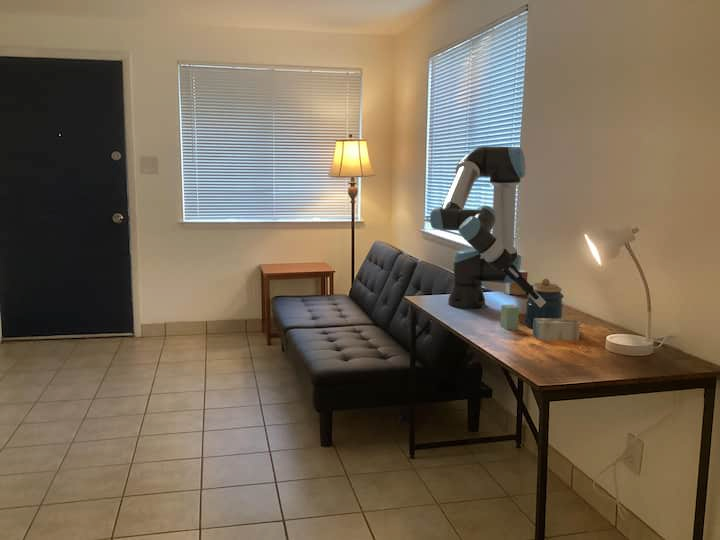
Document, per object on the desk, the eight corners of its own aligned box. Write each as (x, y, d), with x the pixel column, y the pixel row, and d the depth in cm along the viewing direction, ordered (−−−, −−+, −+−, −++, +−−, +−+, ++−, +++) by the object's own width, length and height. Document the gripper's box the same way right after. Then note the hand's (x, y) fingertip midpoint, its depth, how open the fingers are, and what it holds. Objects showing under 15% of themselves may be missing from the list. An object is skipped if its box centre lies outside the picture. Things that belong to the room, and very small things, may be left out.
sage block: (500, 326, 230) (501, 305, 229) (511, 325, 231) (512, 304, 230) (506, 329, 226) (507, 308, 224) (517, 329, 227) (518, 307, 226)
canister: (555, 332, 223) (559, 283, 220) (519, 327, 230) (522, 279, 227) (565, 325, 233) (569, 278, 230) (531, 319, 240) (534, 274, 237)
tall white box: (533, 318, 219) (573, 318, 219) (532, 335, 220) (572, 335, 220) (538, 322, 213) (580, 323, 213) (537, 339, 214) (578, 340, 214)
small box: (509, 295, 284) (510, 271, 282) (505, 292, 289) (506, 269, 287) (526, 295, 284) (528, 271, 282) (522, 292, 290) (523, 269, 288)
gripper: (483, 260, 219) (529, 307, 222) (492, 266, 206) (540, 316, 209) (500, 244, 218) (545, 292, 221) (509, 250, 205) (557, 301, 208)
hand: (542, 304), depth 215 cm, fingers closed
